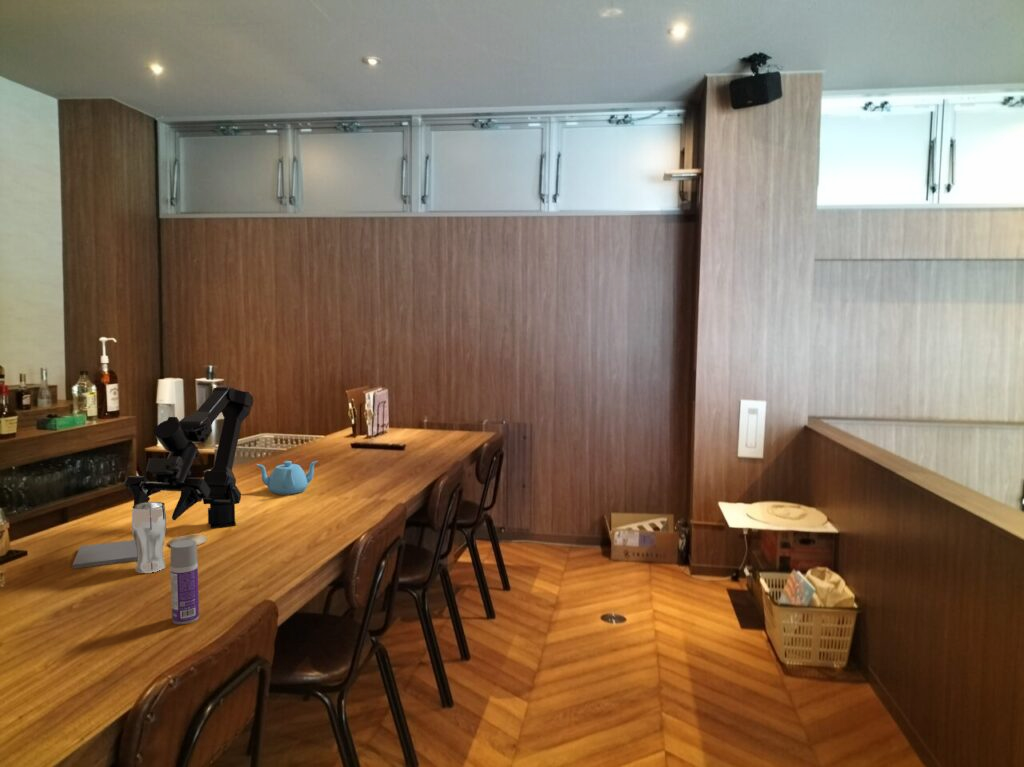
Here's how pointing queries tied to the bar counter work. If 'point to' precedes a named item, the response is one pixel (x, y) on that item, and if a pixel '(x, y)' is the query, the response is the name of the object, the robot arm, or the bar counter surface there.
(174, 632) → the bar counter surface
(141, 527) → the beer glass
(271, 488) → the teapot
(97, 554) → the slate board
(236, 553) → the bar counter surface
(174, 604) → the container
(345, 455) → the bar counter surface
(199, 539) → the metal coaster
